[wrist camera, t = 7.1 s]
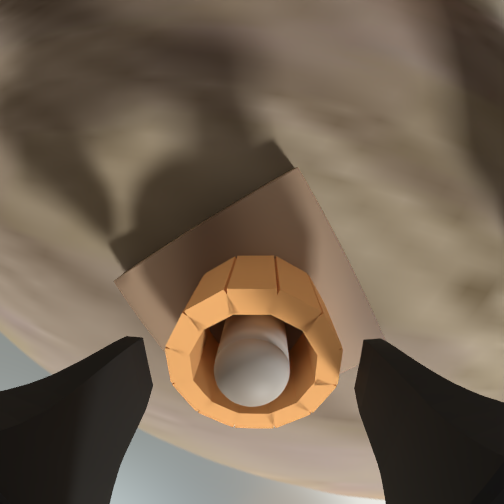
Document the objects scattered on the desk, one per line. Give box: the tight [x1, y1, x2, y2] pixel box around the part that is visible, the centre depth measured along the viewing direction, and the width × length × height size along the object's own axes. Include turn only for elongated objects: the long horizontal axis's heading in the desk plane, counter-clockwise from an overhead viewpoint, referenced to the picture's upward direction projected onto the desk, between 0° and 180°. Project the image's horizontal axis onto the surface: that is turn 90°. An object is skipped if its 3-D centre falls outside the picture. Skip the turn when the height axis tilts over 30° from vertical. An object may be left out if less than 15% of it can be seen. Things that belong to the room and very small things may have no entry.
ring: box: [165, 255, 343, 428], centre depth 11 cm, size 6×6×4 cm
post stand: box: [114, 167, 386, 407], centre depth 11 cm, size 9×9×6 cm
